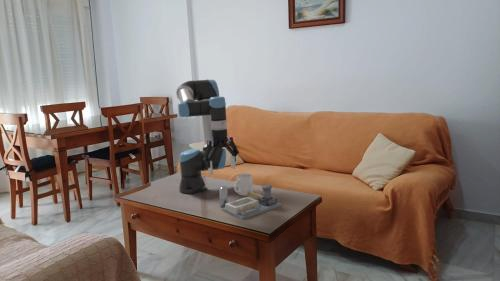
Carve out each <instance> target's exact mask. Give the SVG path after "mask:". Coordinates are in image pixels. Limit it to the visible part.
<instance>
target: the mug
mask: <svg viewBox="0 0 500 281" xmlns="http://www.w3.org/2000/svg"><path fill="white" fill-rule="evenodd" d="M233 189H234V192H235V193H237V194H238V195H239V196H242V197H244V196H245V197H248V196H247V192H249V191H251V192H254V190H253V175H252V174H251V173H239V174H237V175H236V181H235V182H234V185H233Z"/></svg>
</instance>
